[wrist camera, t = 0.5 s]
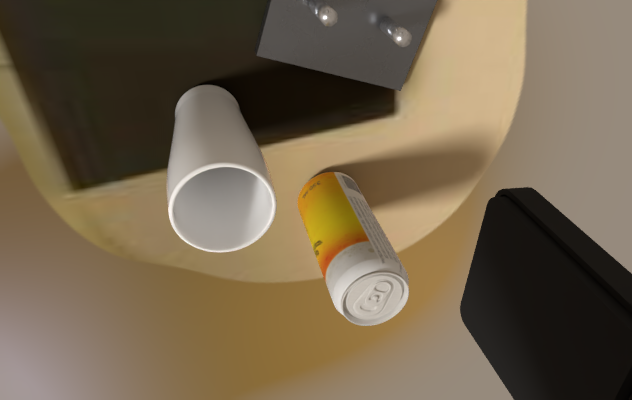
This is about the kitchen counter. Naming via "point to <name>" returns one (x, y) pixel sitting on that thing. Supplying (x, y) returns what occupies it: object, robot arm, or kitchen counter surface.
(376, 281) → the beer can
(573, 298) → the robot arm
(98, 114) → the kitchen counter surface
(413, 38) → the plate
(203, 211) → the drinking glass
